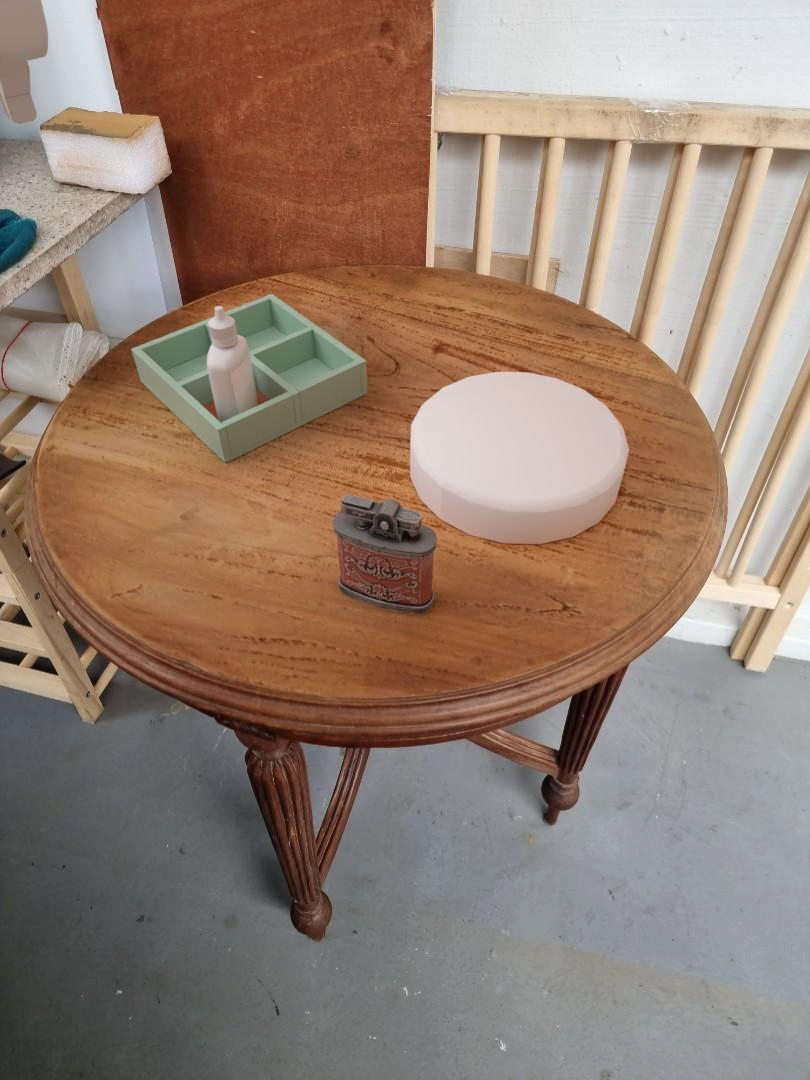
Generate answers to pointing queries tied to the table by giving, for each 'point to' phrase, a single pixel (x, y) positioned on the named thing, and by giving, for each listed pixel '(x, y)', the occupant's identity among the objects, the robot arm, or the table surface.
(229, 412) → the eye dropper bottle
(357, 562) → the lighter
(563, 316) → the table surface
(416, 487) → the container
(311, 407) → the grid
